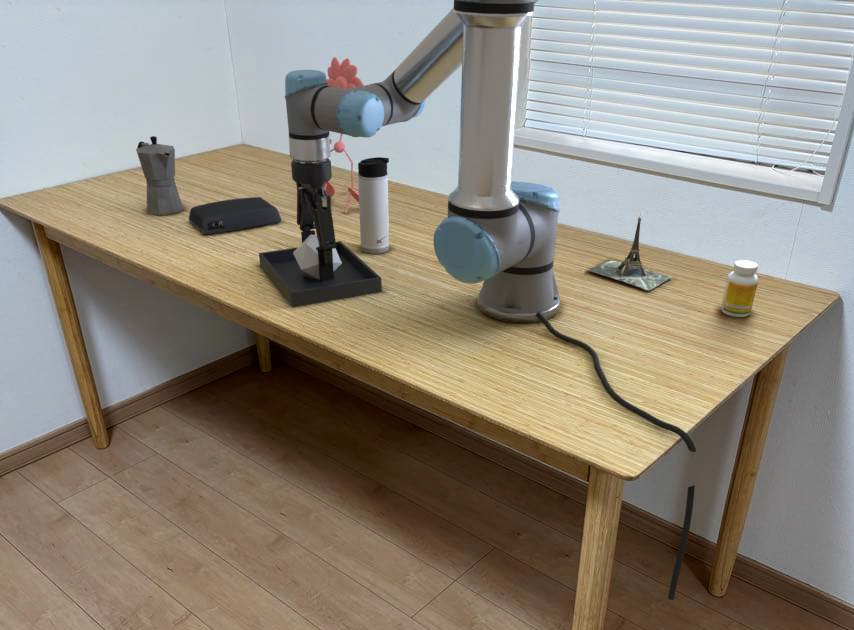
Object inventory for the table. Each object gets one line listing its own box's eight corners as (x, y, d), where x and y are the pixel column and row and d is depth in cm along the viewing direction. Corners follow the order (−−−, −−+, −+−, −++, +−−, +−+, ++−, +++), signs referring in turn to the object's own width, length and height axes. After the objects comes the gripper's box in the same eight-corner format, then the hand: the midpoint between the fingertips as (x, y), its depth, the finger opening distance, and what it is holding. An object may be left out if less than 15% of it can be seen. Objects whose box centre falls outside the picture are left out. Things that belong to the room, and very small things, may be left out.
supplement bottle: (716, 306, 153) (726, 258, 148) (744, 306, 152) (756, 258, 148) (725, 317, 148) (736, 269, 143) (754, 318, 148) (766, 269, 143)
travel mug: (386, 255, 175) (384, 162, 164) (357, 253, 176) (353, 160, 165) (393, 245, 180) (392, 155, 170) (365, 243, 181) (362, 153, 171)
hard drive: (187, 221, 193) (185, 204, 191) (263, 209, 202) (261, 193, 200) (204, 237, 184) (202, 219, 182) (283, 223, 192) (281, 207, 190)
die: (350, 278, 164) (337, 231, 164) (335, 271, 155) (322, 222, 156) (313, 290, 166) (300, 245, 166) (296, 285, 157) (283, 236, 158)
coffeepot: (195, 212, 200) (184, 137, 190) (160, 220, 194) (147, 144, 185) (165, 198, 209) (153, 127, 200) (131, 206, 204) (117, 133, 194)
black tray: (381, 291, 157) (381, 277, 156) (292, 307, 151) (291, 292, 149) (341, 253, 175) (340, 240, 174) (260, 266, 169) (258, 252, 167)
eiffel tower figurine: (585, 272, 167) (592, 209, 160) (611, 260, 173) (619, 199, 166) (648, 292, 158) (659, 227, 151) (674, 278, 164) (685, 215, 157)
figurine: (367, 221, 194) (361, 67, 176) (295, 200, 209) (283, 55, 191) (408, 206, 205) (407, 59, 187) (337, 188, 219) (330, 49, 201)
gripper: (350, 171, 143) (355, 287, 155) (311, 144, 161) (318, 250, 172) (310, 175, 141) (318, 293, 152) (274, 147, 158) (284, 255, 169)
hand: (318, 270), depth 162 cm, fingers closed on die, 10 cm apart
